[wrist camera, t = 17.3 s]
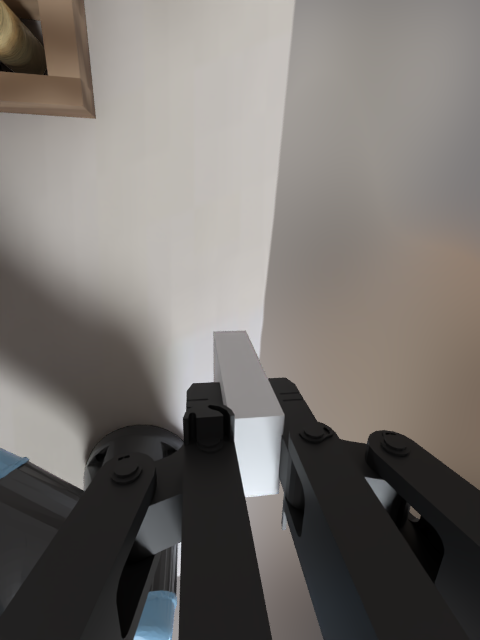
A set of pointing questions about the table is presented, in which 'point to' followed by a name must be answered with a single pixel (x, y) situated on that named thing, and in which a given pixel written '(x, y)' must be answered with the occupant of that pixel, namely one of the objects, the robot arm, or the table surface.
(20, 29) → the tan cylinder
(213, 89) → the table surface
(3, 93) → the block
